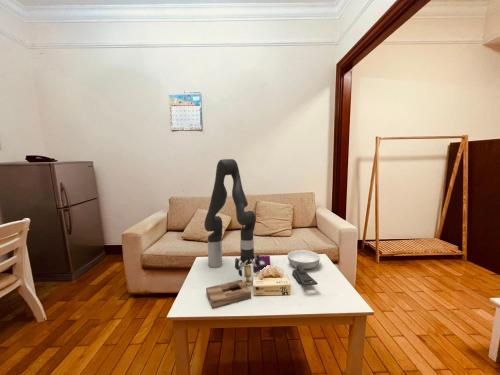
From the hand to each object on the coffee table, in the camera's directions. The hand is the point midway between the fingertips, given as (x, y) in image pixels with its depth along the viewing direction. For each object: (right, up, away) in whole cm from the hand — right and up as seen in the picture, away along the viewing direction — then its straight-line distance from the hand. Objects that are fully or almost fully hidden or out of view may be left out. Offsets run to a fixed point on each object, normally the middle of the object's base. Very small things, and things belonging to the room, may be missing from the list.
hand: (247, 274), depth 133 cm
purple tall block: (+9, -3, +25) cm, 26 cm away
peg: (0, -6, +1) cm, 6 cm away
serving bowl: (+37, -3, +24) cm, 44 cm away
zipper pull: (+32, -6, +1) cm, 33 cm away
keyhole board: (-10, -8, -11) cm, 17 cm away
